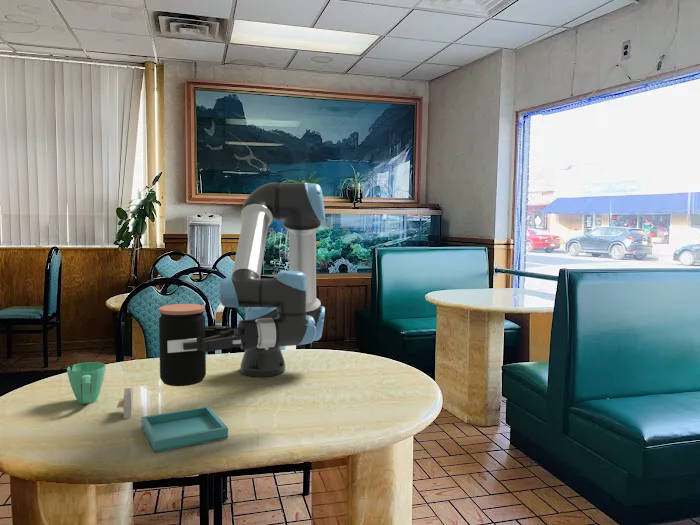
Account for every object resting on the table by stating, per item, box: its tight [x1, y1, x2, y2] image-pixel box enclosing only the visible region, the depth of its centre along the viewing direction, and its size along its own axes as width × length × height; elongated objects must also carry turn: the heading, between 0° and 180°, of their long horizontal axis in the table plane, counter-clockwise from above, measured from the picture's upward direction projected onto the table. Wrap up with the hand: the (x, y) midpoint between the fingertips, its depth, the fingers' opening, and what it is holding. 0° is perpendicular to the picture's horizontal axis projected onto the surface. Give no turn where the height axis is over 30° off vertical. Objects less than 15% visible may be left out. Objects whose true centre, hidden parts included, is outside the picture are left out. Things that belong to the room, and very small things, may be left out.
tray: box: [140, 405, 229, 453], centre depth 138 cm, size 17×17×3 cm
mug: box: [66, 361, 106, 405], centre depth 157 cm, size 15×10×10 cm
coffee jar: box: [158, 303, 207, 387], centre depth 136 cm, size 11×11×18 cm
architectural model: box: [116, 385, 134, 419], centre depth 150 cm, size 3×7×7 cm, turn 16°
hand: (164, 341), depth 134 cm, fingers closed on coffee jar, 11 cm apart
